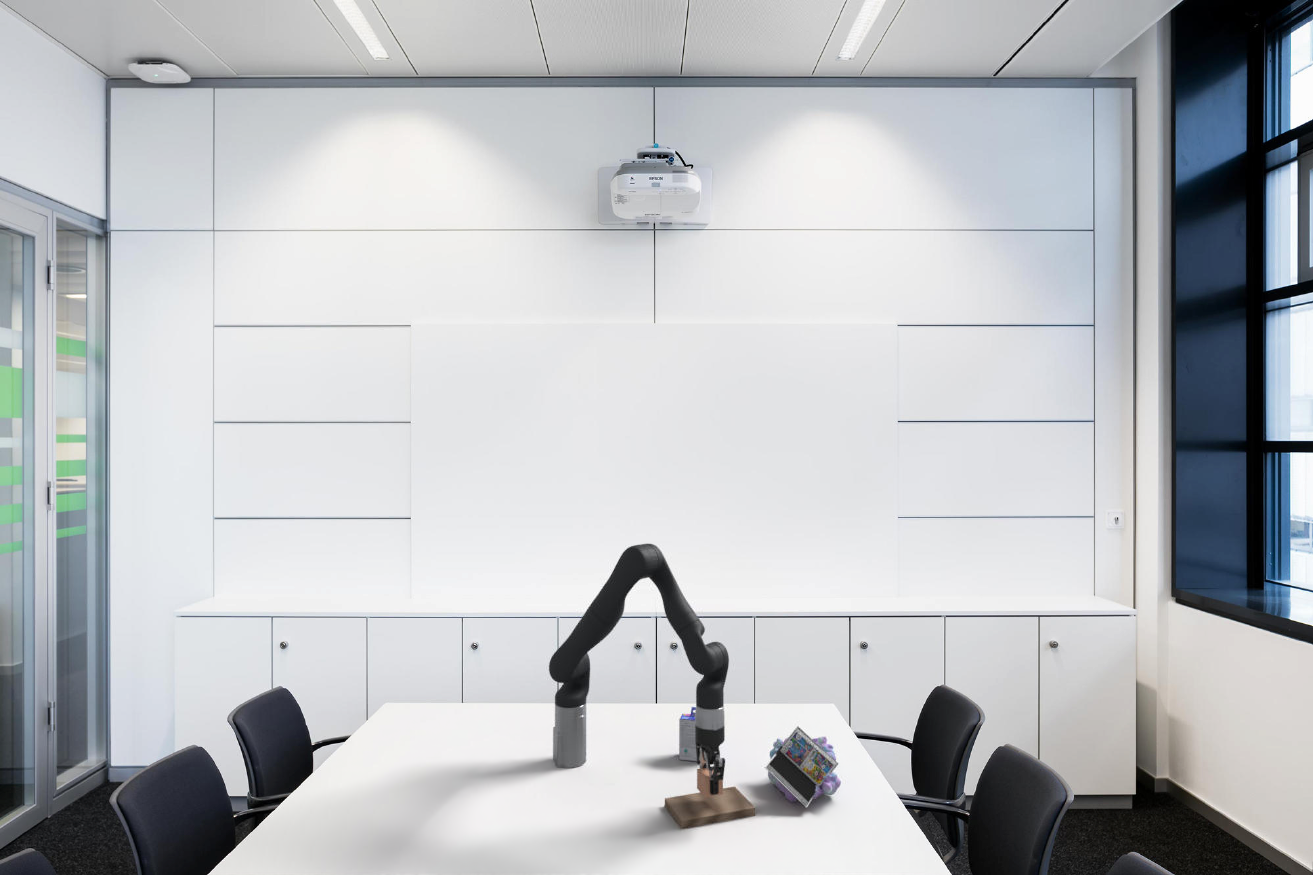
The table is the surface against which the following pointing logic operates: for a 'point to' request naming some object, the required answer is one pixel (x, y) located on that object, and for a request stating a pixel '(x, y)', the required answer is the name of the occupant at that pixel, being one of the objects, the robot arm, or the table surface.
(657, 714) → the table surface
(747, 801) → the walnut board
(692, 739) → the ink cartridge box
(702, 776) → the terracotta cube
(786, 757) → the lumpy iridescent figurine
